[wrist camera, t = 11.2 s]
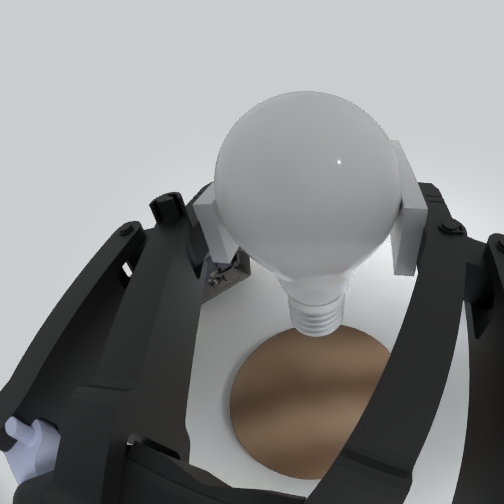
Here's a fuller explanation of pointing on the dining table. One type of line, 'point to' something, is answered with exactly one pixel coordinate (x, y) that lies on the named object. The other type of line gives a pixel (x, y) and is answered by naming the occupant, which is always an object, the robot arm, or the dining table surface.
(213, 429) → the dining table surface
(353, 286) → the dining table surface
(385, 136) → the lightbulb
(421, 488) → the dining table surface
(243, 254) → the electrical switch
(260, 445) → the board
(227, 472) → the dining table surface
